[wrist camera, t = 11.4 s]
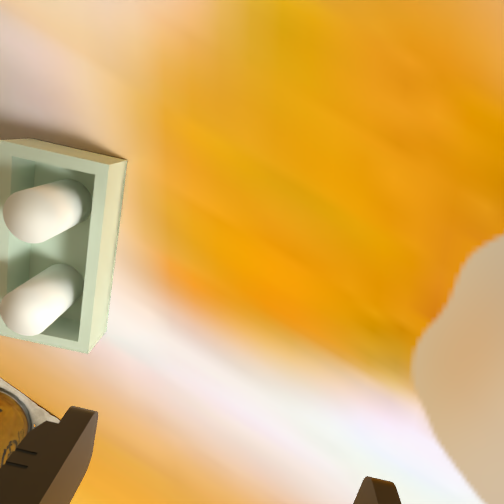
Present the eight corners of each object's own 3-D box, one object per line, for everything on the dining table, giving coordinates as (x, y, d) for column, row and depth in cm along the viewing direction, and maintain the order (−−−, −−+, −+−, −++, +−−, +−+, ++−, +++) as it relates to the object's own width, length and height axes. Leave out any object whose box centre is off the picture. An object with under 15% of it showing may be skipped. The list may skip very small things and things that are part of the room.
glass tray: (30, 138, 25) (-28, 141, 20) (127, 160, 25) (93, 168, 20) (21, 312, 29) (-30, 351, 24) (106, 330, 29) (72, 373, 24)
